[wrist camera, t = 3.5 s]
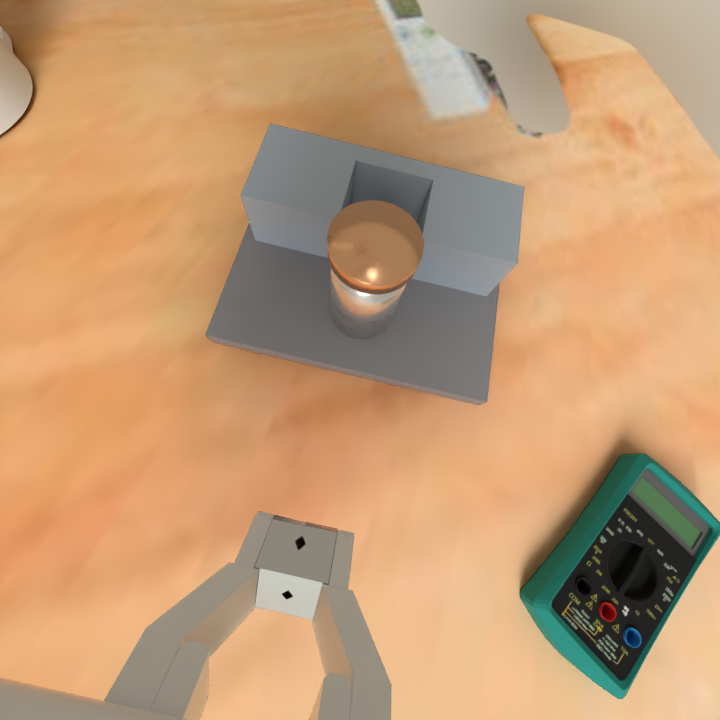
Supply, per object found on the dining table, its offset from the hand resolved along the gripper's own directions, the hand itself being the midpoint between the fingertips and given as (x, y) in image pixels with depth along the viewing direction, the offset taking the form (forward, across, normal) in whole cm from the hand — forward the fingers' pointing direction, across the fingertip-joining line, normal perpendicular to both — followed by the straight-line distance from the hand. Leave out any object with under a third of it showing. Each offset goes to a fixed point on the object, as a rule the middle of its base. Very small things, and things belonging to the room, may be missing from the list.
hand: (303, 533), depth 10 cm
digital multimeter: (+11, -22, +11) cm, 27 cm away
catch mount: (+23, 0, -2) cm, 23 cm away
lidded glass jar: (+19, 0, -1) cm, 19 cm away
